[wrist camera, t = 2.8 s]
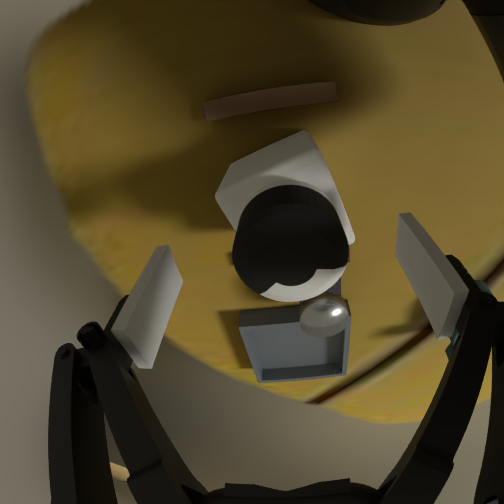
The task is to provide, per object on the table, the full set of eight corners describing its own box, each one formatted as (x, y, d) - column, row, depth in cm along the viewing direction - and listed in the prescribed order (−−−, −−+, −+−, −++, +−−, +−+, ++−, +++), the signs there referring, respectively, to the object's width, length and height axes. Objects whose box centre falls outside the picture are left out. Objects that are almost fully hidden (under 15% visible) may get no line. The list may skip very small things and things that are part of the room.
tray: (240, 310, 33) (238, 327, 31) (347, 299, 31) (351, 315, 29) (259, 368, 39) (258, 382, 37) (343, 360, 37) (346, 374, 35)
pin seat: (206, 101, 20) (201, 102, 19) (331, 81, 19) (335, 81, 18) (247, 265, 29) (245, 274, 28) (346, 253, 27) (349, 262, 26)
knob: (295, 268, 29) (297, 307, 24) (340, 263, 28) (350, 300, 24) (299, 301, 31) (301, 340, 27) (340, 296, 31) (348, 334, 26)
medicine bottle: (228, 163, 23) (191, 236, 14) (306, 127, 21) (335, 173, 11) (266, 230, 27) (259, 330, 17) (338, 200, 25) (376, 291, 15)
